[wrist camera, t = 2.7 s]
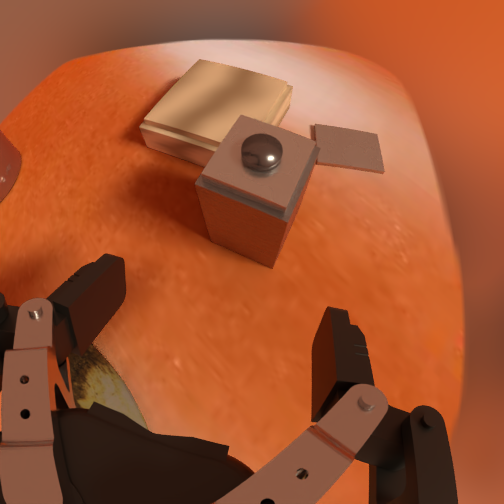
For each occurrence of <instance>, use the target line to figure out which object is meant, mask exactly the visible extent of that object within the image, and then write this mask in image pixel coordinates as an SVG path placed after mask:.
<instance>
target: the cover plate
mask: <svg viewBox="0 0 504 504" xmlns="http://www.w3.org/2000/svg"><path fill="white" fill-rule="evenodd" d="M314 130H315V141H316V144H315V145H316V146H317V147H319V148H321V149H320V152H319V155H318V157H317V160H316V162H317V165H324V166H332V167H340V168H347V169H354V170H361V171H367V172H374V173H380V174H383V173H384V172H385V171H384V166H383V160H382V155H381V150H380V146H379V141H378V136H377V134H374V133H368V132H363V131H358V130H352V129H346V128H340V127H334V126H327V125H320V124H315V126H314Z"/></svg>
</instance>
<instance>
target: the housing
mask: <svg viewBox="0 0 504 504" xmlns="http://www.w3.org/2000/svg"><path fill="white" fill-rule="evenodd" d="M315 144H316V141H313V140H311V139H308V138H306V137H303V136H301V135H298V134H295V133H293V132H290V131H287V130H285V129H282V128H279V127H277V126H274V125H271V124H268V123H265V122H262V121H259V120H256V119H253V118H250V117H247V116H244V115H240V116H239V118H238V119H237V120H236V122H235V123H234V125H233V126H232V128H231V129H230V131H229V132H228V133H227V135H226V136H225V138H224V139H223V141H222V142H221V144H220V145H219V147H218V148H217V150H216V151H215V153H214V154H213V156H212V157H211V159H210V160H209V162H208V164H207V165H206V167H205V168H204V170H203V171H202V173H201V174H200V176H199V178H198V179H197V181H196V182H195V188H196V191H197V195H198V198H199V202H200V205H201V209H202V212H203V216H204V219H205V223H206V226H207V229H208V233H209V236H210V240H211V242H213V243H215V244H217V245H220V246H222V247H224V248H226V249H229V250H231V251H233V252H235V253H238V254H240V255H242V256H244V257H247V258H249V259H251V260H253V261H256V262H258V263H260V264H262V265H265V266H267V267H269V268H271V269H273V267H274V264H275V262H276V260H277V258H278V256H279V253H280V251H281V249H282V247H283V244H284V242H285V240H286V238H287V235H288V233H289V231H290V229H291V226H292V224H293V222H294V220H295V217H296V215H297V213H298V210H299V207H300V205H301V202H302V199H303V196H304V194H305V191H306V188H307V185H308V183H309V180H310V177H311V174H312V171H313V169H314V166H315V163H316V160H317V157H318V155H319V152H320V149H321V148H319V147H317V146H315Z"/></svg>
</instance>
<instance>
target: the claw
mask: <svg viewBox="0 0 504 504" xmlns="http://www.w3.org/2000/svg"><path fill="white" fill-rule="evenodd" d="M68 359H69V366H70V376H71V384H72V392H73V398H74V403H75V406H76V408H85V409H90V407H91V405H92V404H93V402H94V401H95V402H97V403H99V404H102V405H104V406H106V407H108V408H111V409H113V410H116V411H118V412H120V413H123V414H125V415H126V416H128V417H129V418H130V419H132V420H133V421H135V422H136V423H138V424H139V425H141V426H143V427H144V428H146V429H147V430H148V427H147V425H146V422H145V420H144V418H143V416H142V414H141V412H140V410H139V408H138V406H137V404H136V402H135V400H134V398H133V396H132V394H131V392H130V391H129V389H128V387H127V386H126V384H125V383H124V381H123V380H122V379H121V377H120V376H119V375H118V373H117V372H116V371H115V370H114V368H113V367H112V366H111V365H110V364H109V362H108V361H107V360H106V359H105V358H104V357H103V356H102V354H101V353H100V352H99V351H98V350H97V349H96V348H95V347H94V346H93V345H92V343H91V345H90V346H89V347H88V349H87V350H86V351H85V353H84V354H83V355H82V357H81V356H78V355H76V354H74V353H72V352H71V353H70V354H69V356H68Z"/></svg>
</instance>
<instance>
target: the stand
mask: <svg viewBox="0 0 504 504" xmlns="http://www.w3.org/2000/svg"><path fill="white" fill-rule="evenodd" d="M292 89H293V86H290V85H287V82H286V81H283V80H280V79H277V78H274V77H270V76H267V75H263V74H260V73H256V72H253V71H249V70H245V69H241V68H237V67H233V66H229V65H224V64H220V63H215V62H211V61H206V60H201V59H199V60H198V61H197V62H196V63H195V64H194V65H193V66H192V67H191V68H190V69H189V70H188V71H187V72H186V73H185V74H184V75H183V76H182V77H181V78H180V79H179V80H178V81H177V82H176V83H175V84H174V85H173V87H172V88H171V89H170V90H169V91H168V92H167V93H166V94H165V95H164V96H163V97H162V99H161V100H160V101H159V102H158V103H157V104H156V105H155V106H154V108H153V109H152V110H151V111H150V112H149V113H148V115H147V116H146V117H145V118H144V121H143V123H142V124H141V125H140V126H139V129H140V131H141V133H142V136H143V138H144V140H145V143H146V145H147V147H149V148H152V149H154V150H157V151H160V152H163V153H166V154H169V155H172V156H175V157H178V158H180V159H183V160H186V161H189V162H192V163H194V164H197V165H200V166H202V167H206V165H207V164H208V162H209V160H210V159H211V157H212V156H213V154H214V153H215V151H216V150H217V148H218V147H219V145H220V144H221V142H222V141H223V139H224V138H225V136H226V135H227V133H228V132H229V131H230V129H231V128H232V126H233V125H234V123H235V122H236V120H237V119H238V118H239V116H240V115H244V116H247V117H250V118H253V119H256V120H259V121H262V122H265V123H268V124H271V125H274V126H277V127H278V126H279V124H280V122H281V121H282V119H283V117H284V116H285V114H286V112H287V111H288V109H289V106H290V100H291V95H292Z"/></svg>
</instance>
